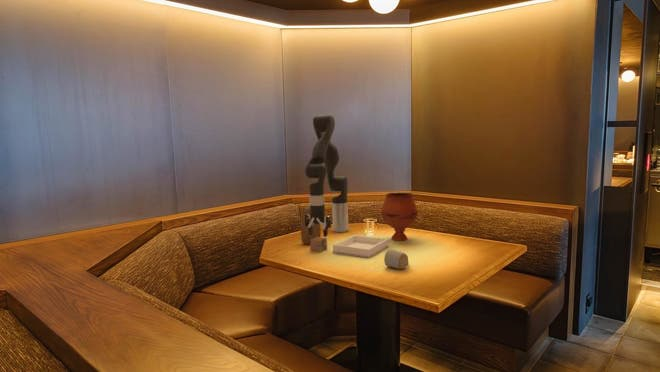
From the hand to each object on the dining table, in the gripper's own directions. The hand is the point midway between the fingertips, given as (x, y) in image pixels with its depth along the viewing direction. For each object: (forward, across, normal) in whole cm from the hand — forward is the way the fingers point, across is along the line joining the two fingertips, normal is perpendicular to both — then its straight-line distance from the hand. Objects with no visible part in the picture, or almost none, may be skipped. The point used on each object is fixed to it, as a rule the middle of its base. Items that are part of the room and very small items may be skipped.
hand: (318, 235), depth 214 cm
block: (+8, +12, -11) cm, 18 cm away
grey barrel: (+8, -46, +7) cm, 47 cm away
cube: (+8, 0, 0) cm, 8 cm away
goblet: (+7, -28, -38) cm, 48 cm away
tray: (+8, -19, -10) cm, 23 cm away
